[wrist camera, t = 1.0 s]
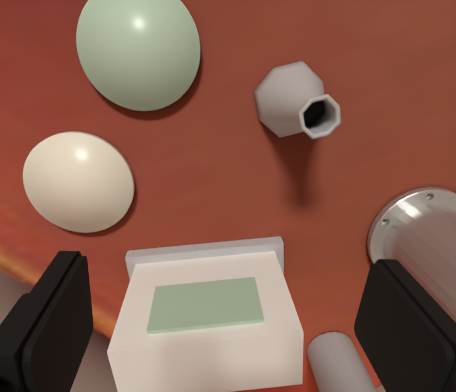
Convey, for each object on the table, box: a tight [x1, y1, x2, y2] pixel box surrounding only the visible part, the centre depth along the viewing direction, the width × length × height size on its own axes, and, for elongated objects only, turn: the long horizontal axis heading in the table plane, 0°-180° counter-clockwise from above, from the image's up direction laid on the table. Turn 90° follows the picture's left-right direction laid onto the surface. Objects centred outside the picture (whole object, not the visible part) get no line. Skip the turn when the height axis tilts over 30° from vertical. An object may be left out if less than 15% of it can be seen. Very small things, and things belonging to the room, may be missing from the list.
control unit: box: [107, 236, 303, 392], centre depth 36 cm, size 8×18×14 cm, turn 94°
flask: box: [254, 61, 341, 139], centre depth 30 cm, size 7×7×10 cm
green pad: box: [76, 0, 200, 111], centre depth 32 cm, size 11×11×1 cm
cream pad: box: [23, 131, 135, 233], centre depth 36 cm, size 11×11×1 cm
